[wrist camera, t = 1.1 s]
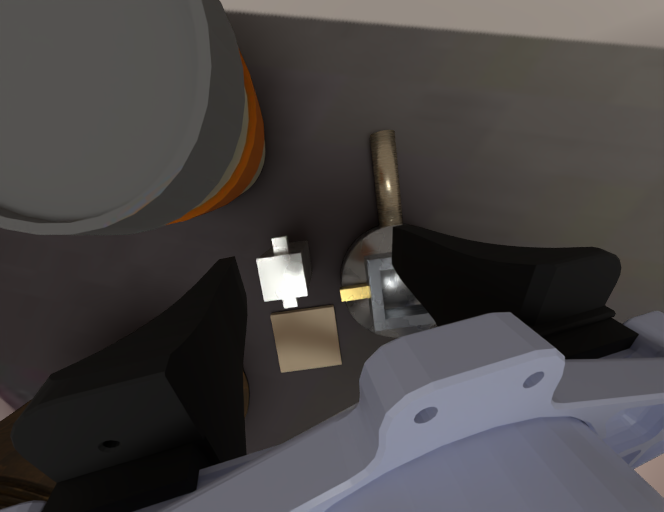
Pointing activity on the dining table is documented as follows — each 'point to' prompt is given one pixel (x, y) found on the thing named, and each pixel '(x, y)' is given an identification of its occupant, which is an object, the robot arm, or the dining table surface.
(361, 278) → the grey frying pan
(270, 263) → the grey block
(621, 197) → the dining table surface
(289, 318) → the coaster
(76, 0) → the reusable coffee cup
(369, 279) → the open square box
